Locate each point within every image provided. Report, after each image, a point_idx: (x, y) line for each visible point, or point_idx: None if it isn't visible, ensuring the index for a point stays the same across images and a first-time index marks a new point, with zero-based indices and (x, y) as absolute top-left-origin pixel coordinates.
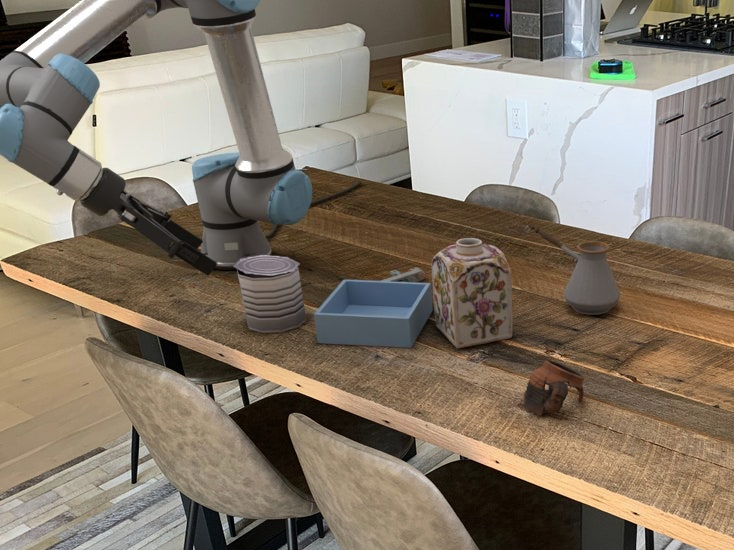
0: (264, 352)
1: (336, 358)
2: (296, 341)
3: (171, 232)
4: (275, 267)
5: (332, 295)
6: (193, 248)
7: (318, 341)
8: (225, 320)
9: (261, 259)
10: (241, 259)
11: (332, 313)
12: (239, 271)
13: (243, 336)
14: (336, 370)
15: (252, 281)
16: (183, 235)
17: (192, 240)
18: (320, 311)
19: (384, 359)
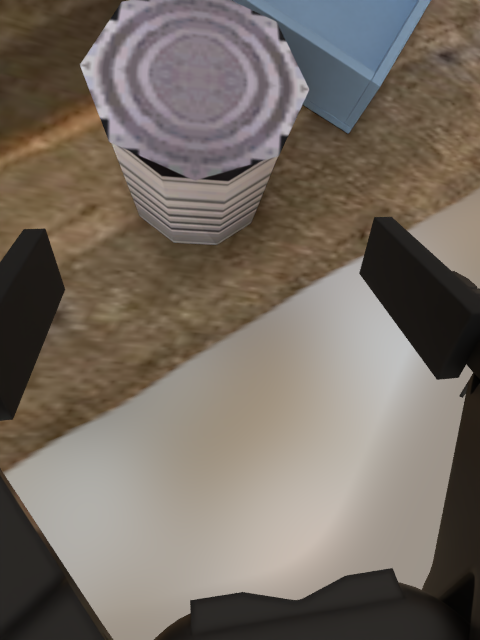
0: (351, 238)
1: (427, 122)
2: (322, 169)
3: (14, 365)
4: (230, 60)
5: (278, 13)
6: (456, 278)
7: (350, 130)
8: (138, 286)
9: (133, 80)
10: (118, 140)
11: (392, 48)
12: (152, 176)
13: (251, 263)
14: (475, 136)
15: (275, 157)
16: (28, 305)
17: (40, 272)
18: (367, 68)
19: (460, 50)
